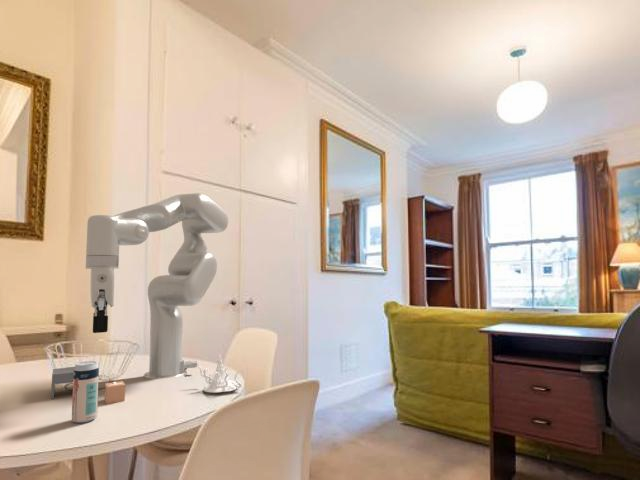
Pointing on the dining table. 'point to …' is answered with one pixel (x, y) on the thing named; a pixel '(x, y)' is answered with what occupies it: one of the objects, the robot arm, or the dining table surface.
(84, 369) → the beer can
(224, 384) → the tentacle sculpture
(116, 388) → the letter cube
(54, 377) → the cover
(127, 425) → the dining table surface
